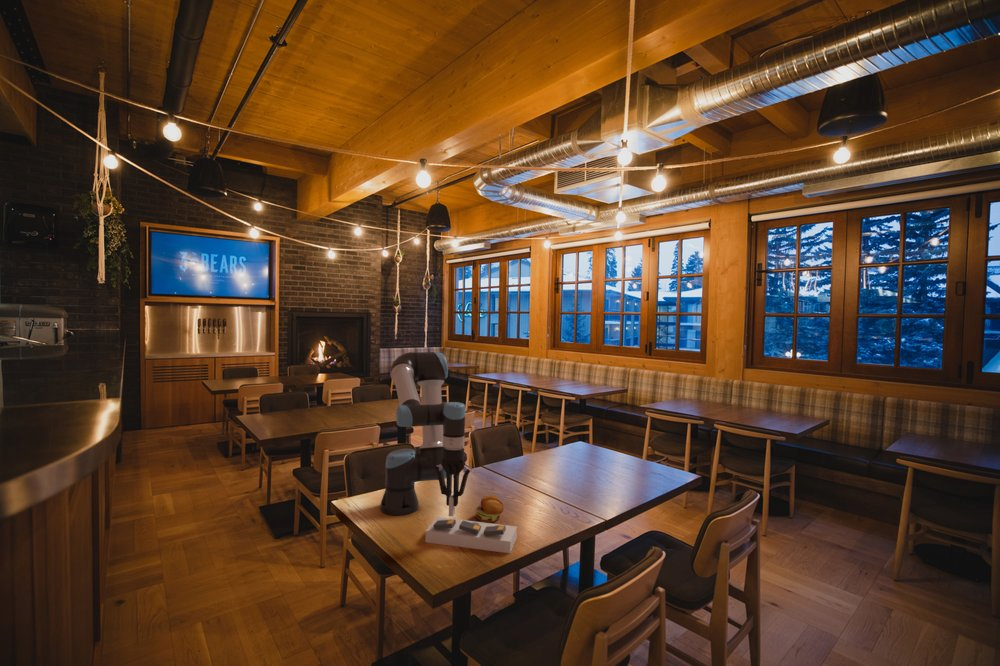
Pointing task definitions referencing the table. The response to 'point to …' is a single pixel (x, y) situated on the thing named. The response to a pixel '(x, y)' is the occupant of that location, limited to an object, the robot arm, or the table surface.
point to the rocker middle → (470, 527)
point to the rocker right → (494, 530)
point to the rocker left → (444, 524)
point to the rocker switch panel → (472, 537)
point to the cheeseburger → (489, 509)
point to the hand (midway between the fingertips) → (451, 514)
